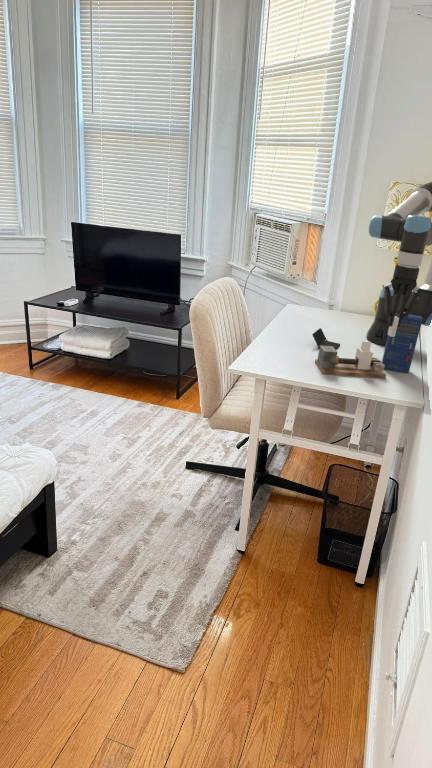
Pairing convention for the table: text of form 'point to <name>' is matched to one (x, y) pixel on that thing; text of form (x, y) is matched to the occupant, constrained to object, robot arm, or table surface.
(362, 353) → the flanged slider block
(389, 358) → the electronic device
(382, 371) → the comb board
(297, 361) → the table surface
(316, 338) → the handheld gaming console
